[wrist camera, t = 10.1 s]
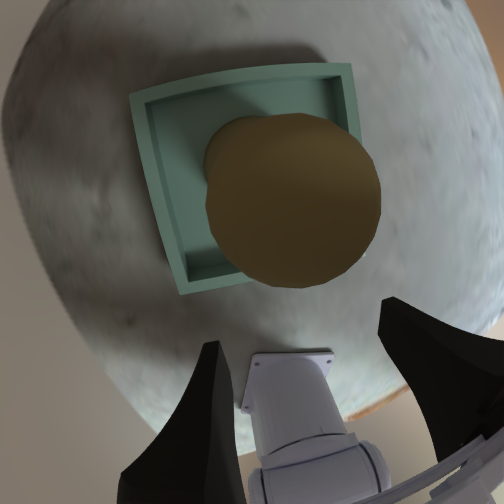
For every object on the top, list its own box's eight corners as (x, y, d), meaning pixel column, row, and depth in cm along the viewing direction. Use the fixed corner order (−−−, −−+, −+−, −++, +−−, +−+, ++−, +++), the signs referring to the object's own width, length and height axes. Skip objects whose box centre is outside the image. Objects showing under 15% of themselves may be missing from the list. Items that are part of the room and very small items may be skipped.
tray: (350, 242, 21) (365, 256, 18) (182, 276, 20) (179, 295, 18) (334, 70, 15) (350, 63, 13) (139, 98, 15) (128, 93, 12)
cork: (204, 213, 17) (196, 329, 8) (202, 116, 15) (180, 88, 5) (299, 210, 18) (390, 309, 8) (303, 117, 16) (423, 113, 6)
